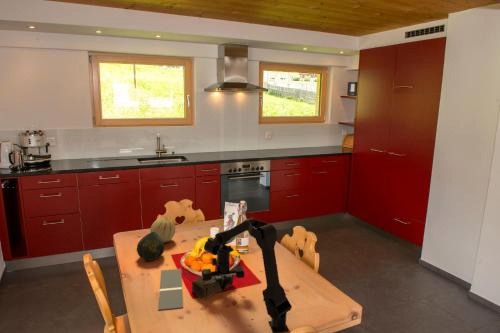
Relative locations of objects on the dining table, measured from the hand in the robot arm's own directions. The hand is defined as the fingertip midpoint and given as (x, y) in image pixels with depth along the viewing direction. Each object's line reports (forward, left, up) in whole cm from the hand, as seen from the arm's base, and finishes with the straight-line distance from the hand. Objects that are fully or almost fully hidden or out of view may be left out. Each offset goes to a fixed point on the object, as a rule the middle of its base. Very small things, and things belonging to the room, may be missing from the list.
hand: (222, 290), depth 153 cm
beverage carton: (+5, +4, -2) cm, 7 cm away
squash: (+44, +34, -2) cm, 55 cm away
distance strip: (+10, +23, -2) cm, 25 cm away
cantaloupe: (+65, +28, -2) cm, 70 cm away
